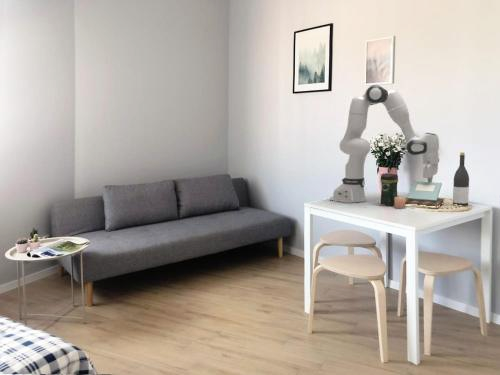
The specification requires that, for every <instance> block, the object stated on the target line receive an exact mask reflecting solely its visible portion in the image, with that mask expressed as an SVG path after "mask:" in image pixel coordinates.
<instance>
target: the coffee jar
mask: <svg viewBox="0 0 500 375" xmlns="http://www.w3.org/2000/svg"><path fill="white" fill-rule="evenodd" d="M398 182H399V176H398V174H396V173H391V172H387V173H386V172H385V173H382V174H381V175H380V183H381V184H380V185H381V191H380V205H383V206H388V207H389V206H393V207H394V199H395V197H397V196H398Z"/></svg>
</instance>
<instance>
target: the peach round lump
mask: <svg viewBox="0 0 500 375" xmlns="http://www.w3.org/2000/svg"><path fill="white" fill-rule="evenodd" d="M406 200H407V198H406V197H405V196H401V195H400V196H398V195H397V197H395V199H394V206H393V207H394V209H398V210H405V209H406V206H405V203H406Z"/></svg>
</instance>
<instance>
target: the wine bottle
mask: <svg viewBox="0 0 500 375" xmlns="http://www.w3.org/2000/svg"><path fill="white" fill-rule="evenodd" d="M465 156H466V155H465V152H463V151H462V152H460V154H459V166H458V167H457V170H456V171H455V173H454V175H453V188H452V190H453V191H452V205H453V204H457V205H464V206H463V207H465V206H466V205H467V206H469V190H470V176H469V172H468V170H467V169H466V167H465V158H466V157H465ZM467 206H466V207H467Z"/></svg>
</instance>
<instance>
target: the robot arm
mask: <svg viewBox="0 0 500 375" xmlns="http://www.w3.org/2000/svg"><path fill="white" fill-rule="evenodd" d="M378 104H382V105H383V106H384V107H385V110H386V111H387V114H388V115H389V117H390V118H391V120H392V121H393V122H394V123H395V124H396V125H397V126H398V127H399V128H400V129H401V132H402V134H403V136H404V138H405V141H406V150H407V152H408V153H409V154H410V155H413V156H417V155H422V164H424V165H423V167H422V177H423V179H426V180H427V182H433V178H434V176H435V175H436V174H437V173H438V169H439V162H440V158H439V155H440V154H439V149H440V147H439V146H440V141H439V140H440V139H439V136H438V135H437V134H435V133H432V132H425V133H423V134H422V135H420V136H417V135H416V134H417V133H416V132H415V130H414V128H413V126H412V124H411V120H410V114H409V109H408V106H407V104H406V103H405V100H404V98H403V97H402V95H401V94H400V92H399V91H398V90H397V89H388V90H387V89H385V88H384V87H383V86H381V85H378V84H372V85H370V86H369V87H368V88H367V89H366V90H365V91H364V94H363V95H357V96H353V98H352V99H351V101H350V106H349V110H348V120H347V126H346V130H345V132H344V133H345V134H344V136H343V137H342V139H341V140H340V142H339V149H340V151H341V152H342V153H344V154H346V155H349V157H348V160H347V162H346V164H345V167H344V168H345V177H344V178H342V179H341V182H342V183H341V184H340V185H338V186H337V187H336V188H335V189H334V190H333V193H332V196H331V197H329V200H330V201H332V200H333V201H332V202H339V201H340V202H341V203H346V204H347V203H349V204H350V203H362V202H366V201H367V198H366V193H365V182H366V181H365V177H364V176H365V173H364V172H365V169H364V168H365V163H366V159H367V156H368V154H369V153H370V152H371V149H372V148H371V143H370V142H369V141H368V140H367V139H365V138H362V135H363V133H364V132H365V130H366V129H367V121H368V112H369V107H371V106H374V105H378ZM340 202H339V203H340Z"/></svg>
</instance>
